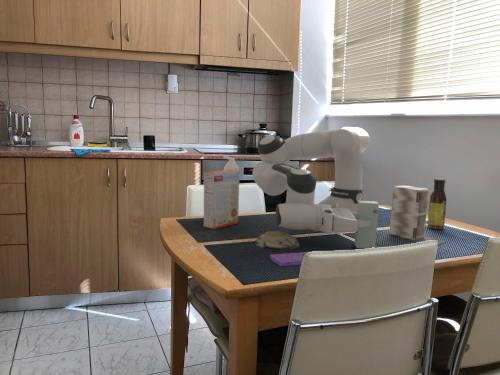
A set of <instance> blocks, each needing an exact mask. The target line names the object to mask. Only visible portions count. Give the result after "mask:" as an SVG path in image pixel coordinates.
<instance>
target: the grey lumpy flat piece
mask: <svg viewBox="0 0 500 375" xmlns="http://www.w3.org/2000/svg"><path fill="white" fill-rule="evenodd" d="M254 242H255V243H254V245H256V246H258V247H260V248H263V249H264V248H269V249H276V250H285V251H286V250H294V249H297V248H298V247H300V243H299V241H298V239H297V238H296V237H294V236H293V235H291V234H290V233H289V232H286V231H280V230H270V231H266V232H264V233H263V234H261V235H259V236H257V238H256V239H255V240H254Z"/></svg>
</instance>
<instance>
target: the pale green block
mask: <svg viewBox="0 0 500 375" xmlns="http://www.w3.org/2000/svg"><path fill="white" fill-rule="evenodd" d="M379 206H380V204H379V202H378V201H374V200H373V201H371V200H362V201H358V205H357V220H369V221H370V222H371V224H370V226H369V227H368V226H364V227H357V231H355V232H354V234H355V235H354V246H355V248H356V249H367V248H372V247H375V248H376V244H377V242H376V241H377V232H378V231H377V230H378V219H379V208H380V207H379Z"/></svg>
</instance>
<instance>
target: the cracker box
mask: <svg viewBox="0 0 500 375" xmlns="http://www.w3.org/2000/svg"><path fill="white" fill-rule="evenodd" d="M239 195H240V170H239V171H235V170H224V169H222V170H214V171H212V170H211V171H206V172H205V171H204V172H203V227H204V228H207V229H212V230H216V229H221V228H225V227H229V226H233V225H237V224H238V223H239V203H240V202H239V200H240V197H239Z"/></svg>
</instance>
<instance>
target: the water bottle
mask: <svg viewBox="0 0 500 375" xmlns="http://www.w3.org/2000/svg"><path fill="white" fill-rule="evenodd" d="M222 159H225V160H228V161H227V163H225V166H224V167H223V170H235V171H239V172H240V167H239V166H238V164H237V162H236V160H235V157H230V156H228V155H223V156H222Z"/></svg>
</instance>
